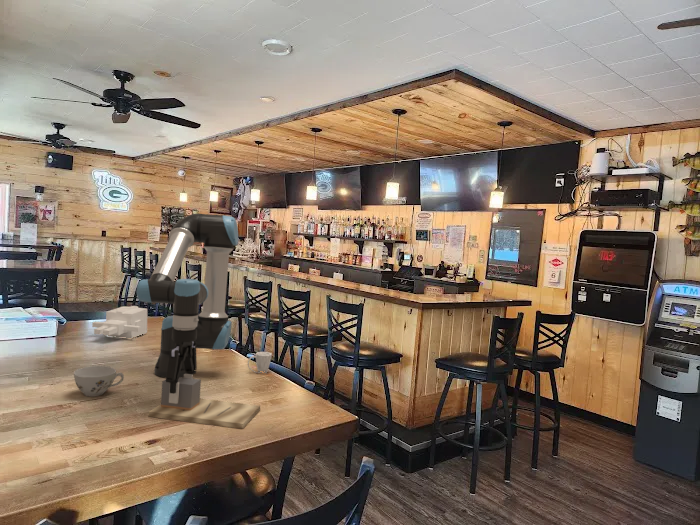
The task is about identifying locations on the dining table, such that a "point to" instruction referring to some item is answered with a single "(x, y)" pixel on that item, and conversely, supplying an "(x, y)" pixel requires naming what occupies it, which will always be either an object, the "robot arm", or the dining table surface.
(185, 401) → the block
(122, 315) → the white voxel figure
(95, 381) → the teacup
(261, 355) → the cup
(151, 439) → the dining table surface
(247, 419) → the board
